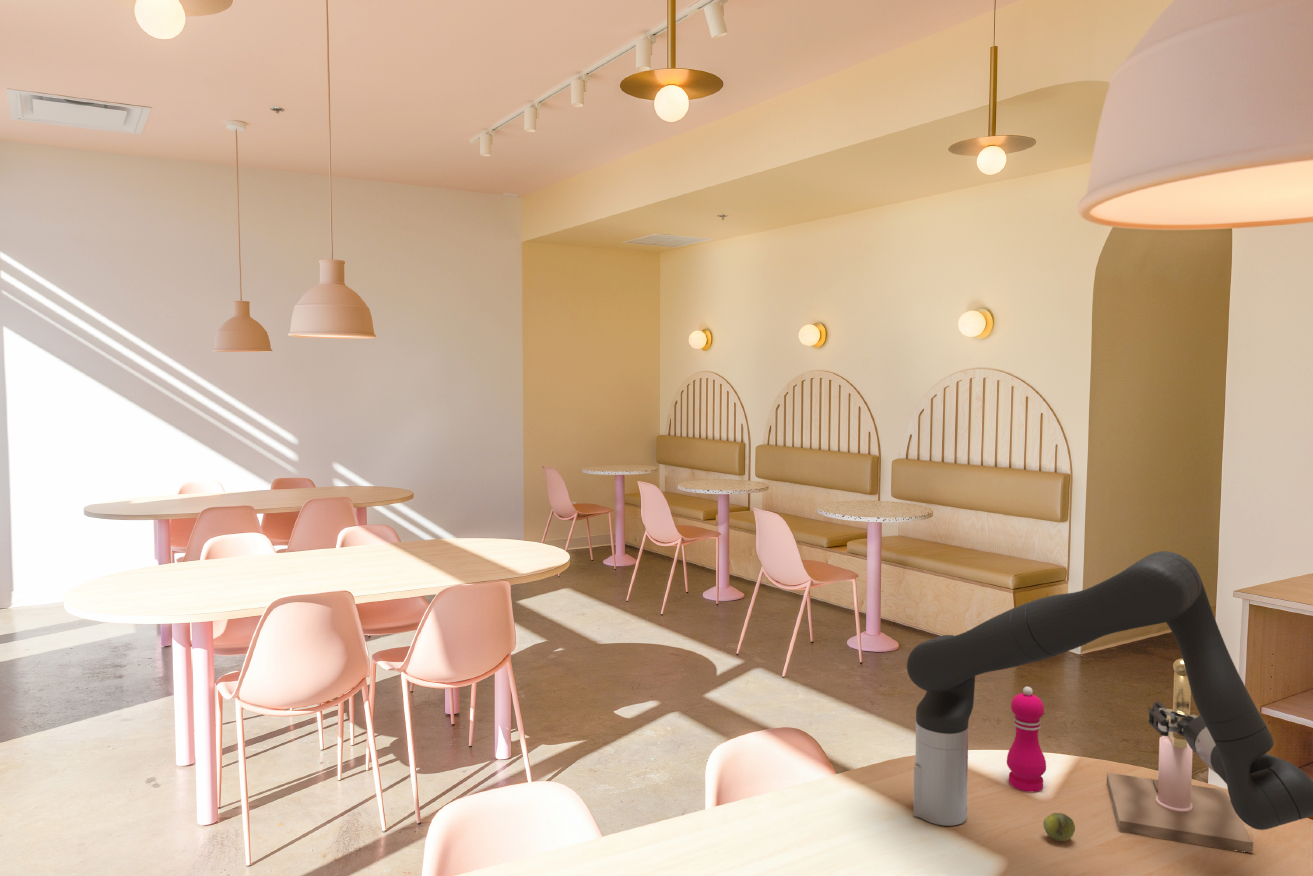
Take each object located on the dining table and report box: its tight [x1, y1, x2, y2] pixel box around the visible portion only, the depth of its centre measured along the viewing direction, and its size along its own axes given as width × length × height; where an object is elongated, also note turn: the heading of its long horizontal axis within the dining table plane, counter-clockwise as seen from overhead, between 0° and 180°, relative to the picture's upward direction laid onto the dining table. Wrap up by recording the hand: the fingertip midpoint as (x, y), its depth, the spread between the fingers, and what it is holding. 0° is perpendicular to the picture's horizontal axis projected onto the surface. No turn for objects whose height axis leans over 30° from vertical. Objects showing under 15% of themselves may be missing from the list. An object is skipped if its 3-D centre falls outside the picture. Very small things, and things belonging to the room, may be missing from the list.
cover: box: [1156, 735, 1193, 813], centre depth 156 cm, size 6×6×12 cm
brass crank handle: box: [1161, 658, 1192, 748], centre depth 158 cm, size 16×3×27 cm, turn 158°
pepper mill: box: [1006, 686, 1047, 793], centre depth 168 cm, size 7×7×20 cm
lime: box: [1043, 812, 1076, 842], centre depth 149 cm, size 4×5×5 cm
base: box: [1106, 772, 1254, 854], centre depth 157 cm, size 20×20×3 cm
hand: (1182, 708), depth 151 cm, fingers open, 8 cm apart
